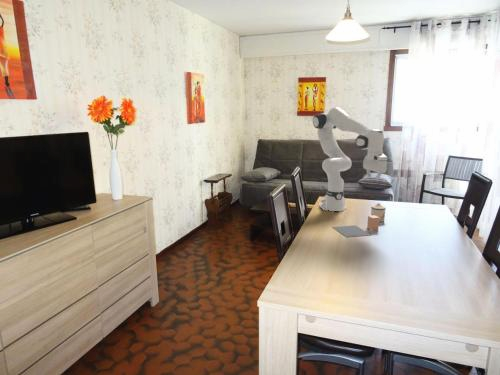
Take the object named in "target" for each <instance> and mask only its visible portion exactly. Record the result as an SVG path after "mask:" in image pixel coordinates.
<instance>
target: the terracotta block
mask: <svg viewBox="0 0 500 375" xmlns="http://www.w3.org/2000/svg"><path fill="white" fill-rule="evenodd" d="M379 224H380V222H379V217H377V216H375V215H371V214H370V215H367V225H366V226H367V227H366V228H367V229H368V230H370V231H379V226H380V225H379Z"/></svg>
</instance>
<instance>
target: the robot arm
mask: <svg viewBox="0 0 500 375" xmlns="http://www.w3.org/2000/svg"><path fill="white" fill-rule="evenodd" d="M312 125H313V127H314V128H315V129H317V137H318V138H317V139H318V140H319V143H320V147H321V148H322V151H323V154H325V155H326V156H328V158H325V159H324V160H323V161H322V163H321V167H322V170H323V171H324V172H325V173H326V176H327V189H326V194H325V195H324V196H323V197H322V199H321V200H320V202H321V203H320V202H319V203H318V206H319V208H322V209H323V211H328V210H329V211H328V212H334V211H339V212H344V211H345V210H347V207H346V198H345V197H344V196H345V191H344V185H345V180H344V179H343V178H342V176H341V172H345V171H348V170H350V169H351V167H352V165H353V164H352V163H353V162H352V160H351V158H350V157H349V156H347V155H346V154H345V153H344V151H342V149H341V148H340V147H339V144H338V142H337V139H336V137H335V135H334V132H333V129H334V130H335V129H338V130H341V131H342V132H349V133H350V132H351V133H354V134H358V135H357V137H356V139H355V146H356V148H357V149H358V150H367V154H366V155H365V156H364V158H363V163H362V167H363V168H362V169H364V170H365V171H366V175H367V177H369V178H370V177H372V174H371V171H372V172H375V173H376V176H375V180H377V181H378V180H380V179H381V176H382V174H385V173H386V172H387V167H388V162H387V161H388V156H387V155H386V154H385V153H384V150H383V147H384V143H385V142H384V141H385V140H384V139H385V136H384V135H385V134H384V131H383V130H381V129H377V128H371V129H369V128H368V127H366V126H365V125H364V124H362V123H360V122H359V121H357V120H356V119H354V118H353V117H352V116H350V115H349V113H347V112H345V111H344V110H343V109H341V108H339V107H336V106H335V107H332V108H330V109H329V111H326V112H322V113H318V114H315V115H314V116H313V118H312ZM322 209H321V210H322Z"/></svg>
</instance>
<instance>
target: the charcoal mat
mask: <svg viewBox="0 0 500 375" xmlns="http://www.w3.org/2000/svg"><path fill="white" fill-rule="evenodd" d="M332 229H334V230H335V231H336V232H338V233H340V234H341V235H342V236H344V237H345V238H351V237H352V238H353V237H355V238H356V237H367V236H372V234H370V233H369V232H367V231H365V230H364V229H362V228H361V227H359V226H358V225H342V226H341V225H340V226H332Z"/></svg>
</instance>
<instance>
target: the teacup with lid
mask: <svg viewBox="0 0 500 375" xmlns="http://www.w3.org/2000/svg"><path fill="white" fill-rule="evenodd" d="M370 210H371V211H370V216H371V215H375V216H377V217H379V223H381V222H382V223H383V222H384V221H385V216H386V207H385V205H383V204H381V203H380V202H376V204H373V205H371V209H370Z"/></svg>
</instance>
